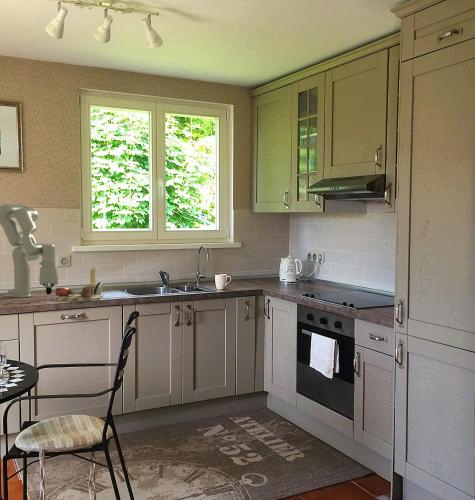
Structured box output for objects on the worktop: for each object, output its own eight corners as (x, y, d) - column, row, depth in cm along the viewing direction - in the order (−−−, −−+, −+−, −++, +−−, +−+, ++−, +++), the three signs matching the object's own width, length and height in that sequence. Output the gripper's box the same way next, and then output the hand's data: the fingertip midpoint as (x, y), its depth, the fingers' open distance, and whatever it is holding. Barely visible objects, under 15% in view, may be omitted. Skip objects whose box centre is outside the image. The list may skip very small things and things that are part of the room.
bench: (56, 301, 338) (56, 287, 337) (62, 297, 352) (62, 285, 351) (98, 301, 339) (98, 287, 339) (102, 297, 353) (102, 285, 353)
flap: (90, 287, 340) (90, 269, 340) (93, 285, 350) (93, 267, 350) (92, 287, 341) (92, 269, 340) (95, 285, 351) (95, 267, 350)
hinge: (93, 293, 373) (98, 279, 372) (99, 296, 373) (105, 281, 373) (87, 297, 356) (93, 282, 356) (95, 299, 356) (100, 284, 356)
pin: (55, 296, 342) (55, 288, 342) (58, 295, 347) (58, 287, 347) (87, 296, 343) (87, 288, 343) (89, 295, 348) (89, 287, 348)
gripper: (34, 264, 339) (34, 295, 340) (59, 264, 340) (59, 295, 341) (37, 263, 346) (38, 293, 347) (62, 263, 347) (62, 293, 348)
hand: (48, 294), depth 344 cm, fingers closed
